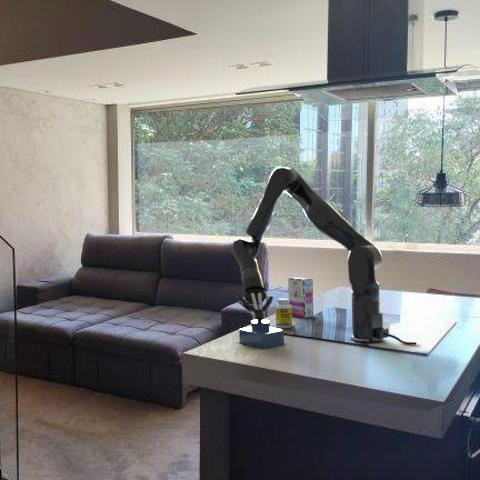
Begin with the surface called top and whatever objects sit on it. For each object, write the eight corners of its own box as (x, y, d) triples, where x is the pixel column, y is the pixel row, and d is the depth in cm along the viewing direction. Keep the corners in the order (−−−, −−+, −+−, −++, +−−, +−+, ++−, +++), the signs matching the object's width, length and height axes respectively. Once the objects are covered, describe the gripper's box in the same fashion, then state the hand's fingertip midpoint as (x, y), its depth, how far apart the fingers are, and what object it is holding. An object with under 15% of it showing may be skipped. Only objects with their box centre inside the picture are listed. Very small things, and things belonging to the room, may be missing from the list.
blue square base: (285, 343, 207) (285, 323, 207) (262, 349, 201) (262, 328, 201) (261, 337, 217) (260, 319, 217) (239, 342, 212) (238, 323, 211)
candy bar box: (314, 317, 250) (313, 278, 249) (304, 318, 248) (303, 279, 246) (297, 313, 260) (296, 276, 259) (288, 314, 258) (287, 277, 257)
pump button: (267, 327, 212) (267, 321, 212) (260, 328, 210) (260, 322, 210) (260, 325, 215) (260, 320, 215) (253, 327, 213) (253, 321, 213)
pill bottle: (280, 329, 231) (279, 300, 230) (273, 326, 237) (272, 298, 236) (295, 327, 232) (294, 299, 232) (287, 324, 238) (286, 297, 238)
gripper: (235, 276, 221) (243, 315, 209) (270, 274, 222) (280, 313, 210) (233, 288, 227) (240, 326, 215) (267, 286, 227) (276, 324, 216)
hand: (260, 319), depth 213 cm, fingers closed
